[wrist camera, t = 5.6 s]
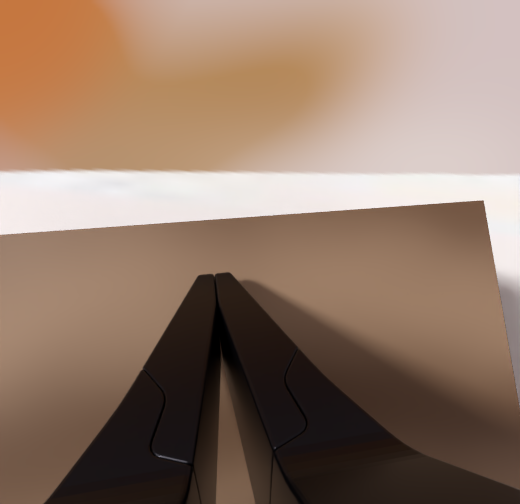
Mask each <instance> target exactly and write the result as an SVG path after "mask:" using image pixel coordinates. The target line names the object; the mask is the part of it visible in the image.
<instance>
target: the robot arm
mask: <svg viewBox="0 0 520 504" xmlns="http://www.w3.org/2000/svg"><path fill="white" fill-rule="evenodd" d="M219 333H220V334H219ZM220 344H221V346H220ZM221 353H222V359H223V364H224V369H225V373H226V377H227V382H228V386H229V390H230V395H231V399H232V403H233V408H234V412H235V416H236V421H237V425H238V430H239V434H240V438H241V443H242V447H243V451H244V456H245V460H246V464H247V469H248V473H249V477H250V482H251V486H252V490H253V495H254V499H255V504H520V489H518V488H515V487H512V486H509V485H507V484H504V483H501V482H498V481H496V480H493V479H490V478H488V477H485V476H482V475H479V474H477V473H474V472H471V471H469V470H466V469H463V468H460V467H458V466H455V465H452V464H450V463H447V462H444V461H441V460H439V459H436V458H433V457H430V456H428V455H425V454H423V453H421V452H419V451H417V450H415V449H414V448H412V447H410V446H409V445H407V444H405V443H404V442H402V441H401V440H400V439H398V438H397V437H396V436H394V435H393V434H392V433H391V432H389V431H388V430H387V429H386V428H385V427H384V426H382V425H381V424H380V423H379V422H378V421H377V420H375V419H374V418H373V417H372V416H371V415H370V414H369V413H367V412H366V411H365V410H364V409H363V408H362V407H360V406H359V405H358V404H357V403H356V402H355V401H354V400H352V399H351V398H350V397H349V396H348V395H347V394H345V393H344V392H343V391H342V390H341V389H340V388H339V387H338V386H337V385H335V384H334V383H333V382H332V381H331V380H330V379H329V378H328V377H327V376H326V375H324V374H323V373H322V371H321V370H320V369H319V368H318V367H317V366H316V365H315V364H314V363H313V362H312V361H311V360H310V359H309V358H308V357H307V356H306V355H305V354H304V352H303V351H302V350H301V349H299V348H298V346H297V345H296V344H295V343H294V342H293V341H292V339H291V338H290V337H289V336H288V335H287V334H286V333H285V332H284V331H283V330H282V329H281V327H280V326H279V325H278V324H277V323H276V322H275V321H274V320H273V319H272V318H271V316H270V315H269V314H268V313H267V312H266V311H265V310H264V309H263V308H262V307H261V306H260V304H259V303H258V302H257V301H256V300H255V299H254V298H253V297H252V296H251V295H250V293H249V292H248V291H247V290H246V289H245V288H244V287H243V286H242V285H241V284H240V282H239V281H238V280H237V279H236V278H235V277H234V276H233V275H232V274H231V273H230V272H224V273H216V274H215V278H214V275H213V274H203V275H198V276H197V278H196V279H195V281H194V283H193V284H192V286H191V288H190V289H189V291H188V293H187V294H186V296H185V298H184V299H183V301H182V303H181V304H180V306H179V308H178V309H177V311H176V313H175V314H174V316H173V318H172V319H171V321H170V323H169V324H168V326H167V328H166V329H165V331H164V333H163V334H162V336H161V338H160V339H159V341H158V343H157V344H156V346H155V348H154V349H153V351H152V353H151V354H150V356H149V358H148V359H147V361H146V363H145V364H144V366H143V368H142V369H143V370H141V371H140V372H139V374H138V376H137V377H136V379H135V381H134V382H133V384H132V386H131V387H130V389H129V390H128V392H127V393H126V395H125V396H124V398H123V399H122V401H121V403H120V404H119V406H118V407H117V408H116V410H115V411H114V412H113V414H112V415H111V417H110V418H109V419H108V421H107V422H106V423H105V425H104V426H103V427H102V429H101V430H100V431H99V433H98V434H97V435H96V437H95V438H94V439H93V441H92V442H91V443H90V444H89V446H88V447H87V448H86V450H85V451H84V452H83V454H82V455H81V456H80V458H79V459H78V460H77V461H76V463H75V464H74V465H73V467H72V468H71V469H70V471H69V472H68V473H67V475H66V476H65V477H64V479H63V480H62V481H61V482H60V484H59V485H58V486H57V488H56V489H55V490H54V492H53V493H52V494H51V495H50V496H49V498H48V499H47V500H46V501H45V502H44V503H43V504H216V484H217V458H218V432H219V406H220V379H221Z"/></svg>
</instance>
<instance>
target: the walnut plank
mask: <svg viewBox="0 0 520 504" xmlns="http://www.w3.org/2000/svg"><path fill="white" fill-rule="evenodd" d="M224 272H230V273H231V274H232V275H233V276H234V277H235V278H236V279H237V280H238V281H239V282H240V284H241V285H242V286H243V287H244V288H245V289H246V290H247V291H248V292H249V293H250V295H251V296H252V297H253V298H254V299H255V300H256V301H257V302H258V303H259V304H260V306H261V307H262V308H263V309H264V310H265V311H266V312H267V313H268V314H269V315H270V316H271V318H272V319H273V320H274V321H275V322H276V323H277V324H278V325H279V326H280V327H281V329H282V330H283V331H284V332H285V333H286V334H287V335H288V336H289V337H290V338H291V339H292V341H293V342H294V343H295V344H296V345H297V346H298V348H299V349H301V350H302V351H303V352H304V354H305V355H306V356H307V357H308V358H309V359H310V360H311V361H312V362H313V363H314V364H315V365H316V366H317V367H318V368H319V369H320V370H321V371H322V373H323V374H324V375H326V376H327V377H328V378H329V379H330V380H331V381H332V382H333V383H334V384H335V385H337V386H338V387H339V388H340V389H341V390H342V391H343V392H344V393H345V394H347V395H348V396H349V397H350V398H351V399H352V400H354V401H355V402H356V403H357V404H358V405H359V406H360V407H362V408H363V409H364V410H365V411H366V412H367V413H369V414H370V415H371V416H372V417H373V418H374V419H375V420H377V421H378V422H379V423H380V424H381V425H382V426H384V427H385V428H386V429H387V430H388V431H389V432H391V433H392V434H393V435H394V436H396V437H397V438H398V439H400V440H401V441H402V442H404V443H405V444H407V445H409V446H410V447H412V448H414V449H415V450H417V451H419V452H421V453H423V454H425V455H428V456H430V457H433V458H436V459H439V460H441V461H444V462H447V463H450V464H452V465H455V466H458V467H460V468H463V469H466V470H469V471H471V472H474V473H477V474H479V475H482V476H485V477H488V478H490V479H493V480H496V481H498V482H501V483H504V484H507V485H509V486H512V487H515V488H518V489H520V408H519V402H518V396H517V391H516V385H515V379H514V373H513V368H512V362H511V356H510V350H509V345H508V339H507V333H506V327H505V322H504V316H503V310H502V304H501V299H500V293H499V287H498V281H497V276H496V270H495V264H494V258H493V253H492V247H491V241H490V235H489V230H488V224H487V218H486V212H485V206H484V201H470V202H456V203H442V204H428V205H414V206H400V207H386V208H372V209H358V210H344V211H330V212H316V213H302V214H288V215H274V216H260V217H246V218H232V219H218V220H204V221H190V222H176V223H162V224H148V225H134V226H120V227H106V228H92V229H78V230H64V231H50V232H36V233H21V234H7V235H0V504H43V503H44V502H45V501H46V500H47V499H48V498H49V496H50V495H51V494H52V493H53V492H54V490H55V489H56V488H57V486H58V485H59V484H60V482H61V481H62V480H63V479H64V477H65V476H66V475H67V473H68V472H69V471H70V469H71V468H72V467H73V465H74V464H75V463H76V461H77V460H78V459H79V458H80V456H81V455H82V454H83V452H84V451H85V450H86V448H87V447H88V446H89V444H90V443H91V442H92V441H93V439H94V438H95V437H96V435H97V434H98V433H99V431H100V430H101V429H102V427H103V426H104V425H105V423H106V422H107V421H108V419H109V418H110V417H111V415H112V414H113V412H114V411H115V410H116V408H117V407H118V406H119V404H120V403H121V401H122V399H123V398H124V396H125V395H126V393H127V392H128V390H129V389H130V387H131V386H132V384H133V382H134V381H135V379H136V377H137V376H138V374H139V372H140V371H141V370H143V369H142V368H143V366H144V364H145V363H146V361H147V359H148V358H149V356H150V354H151V353H152V351H153V349H154V348H155V346H156V344H157V343H158V341H159V339H160V338H161V336H162V334H163V333H164V331H165V329H166V328H167V326H168V324H169V323H170V321H171V319H172V318H173V316H174V314H175V313H176V311H177V309H178V308H179V306H180V304H181V303H182V301H183V299H184V298H185V296H186V294H187V293H188V291H189V289H190V288H191V286H192V284H193V283H194V281H195V279H196V278H197V276H198V275H203V274H213V275H214V278H215V274H216V273H224ZM219 334H220V333H219ZM220 346H221V344H220ZM216 504H255V499H254V495H253V490H252V486H251V482H250V477H249V473H248V469H247V464H246V460H245V456H244V451H243V447H242V443H241V438H240V434H239V430H238V425H237V421H236V416H235V412H234V408H233V403H232V399H231V395H230V390H229V386H228V382H227V377H226V373H225V369H224V364H223V359H222V353H221V379H220V406H219V432H218V458H217V484H216Z"/></svg>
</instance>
